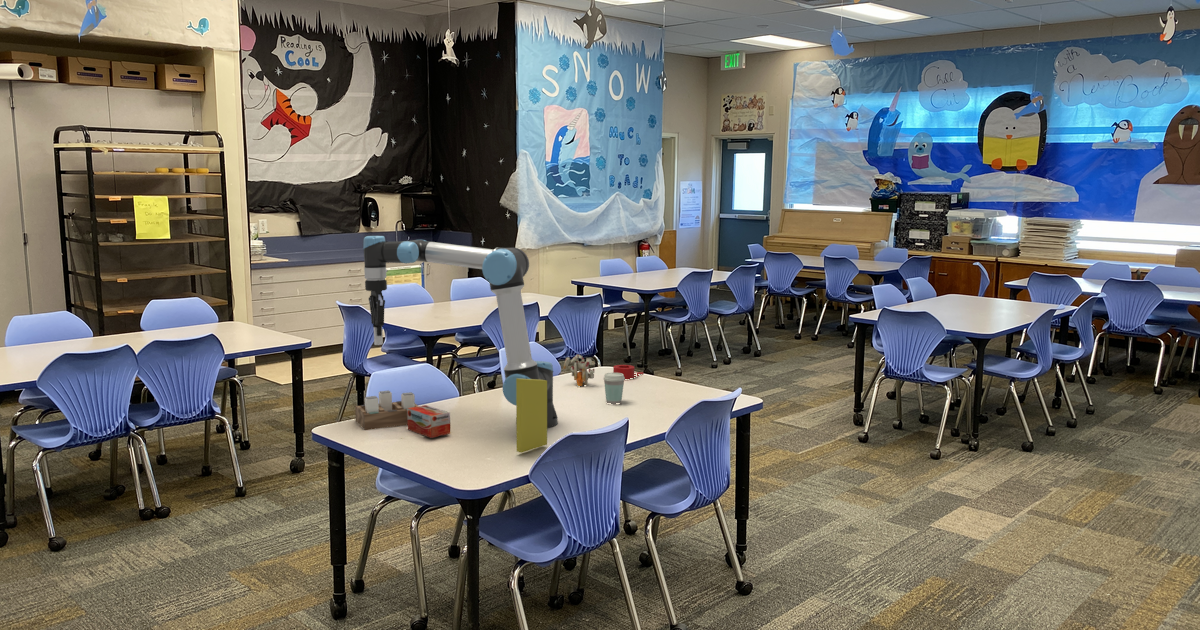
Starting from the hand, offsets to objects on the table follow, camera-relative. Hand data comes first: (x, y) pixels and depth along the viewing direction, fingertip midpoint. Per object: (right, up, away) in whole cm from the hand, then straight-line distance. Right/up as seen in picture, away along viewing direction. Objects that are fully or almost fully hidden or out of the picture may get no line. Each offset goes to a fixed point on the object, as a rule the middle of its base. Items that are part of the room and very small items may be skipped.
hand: (378, 344), depth 309 cm
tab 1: (-1, -26, -5) cm, 26 cm away
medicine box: (+20, -30, -11) cm, 38 cm away
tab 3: (+11, -25, +1) cm, 27 cm away
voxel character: (+71, -21, +58) cm, 94 cm away
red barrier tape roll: (+93, -19, +78) cm, 123 cm away
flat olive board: (+58, -33, -29) cm, 73 cm away
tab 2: (+2, -24, +3) cm, 25 cm away
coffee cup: (+85, -25, +32) cm, 94 cm away
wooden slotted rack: (+3, -28, +1) cm, 28 cm away
